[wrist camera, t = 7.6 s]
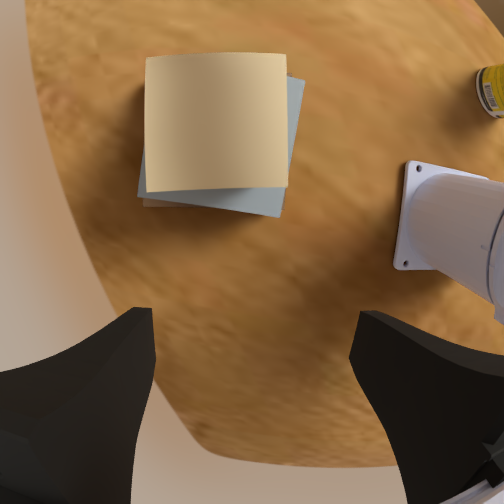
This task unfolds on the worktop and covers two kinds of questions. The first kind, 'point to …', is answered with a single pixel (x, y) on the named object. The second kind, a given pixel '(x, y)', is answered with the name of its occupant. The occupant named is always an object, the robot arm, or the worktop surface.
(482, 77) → the supplement bottle
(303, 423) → the worktop surface
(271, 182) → the oak block
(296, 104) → the slate slab
